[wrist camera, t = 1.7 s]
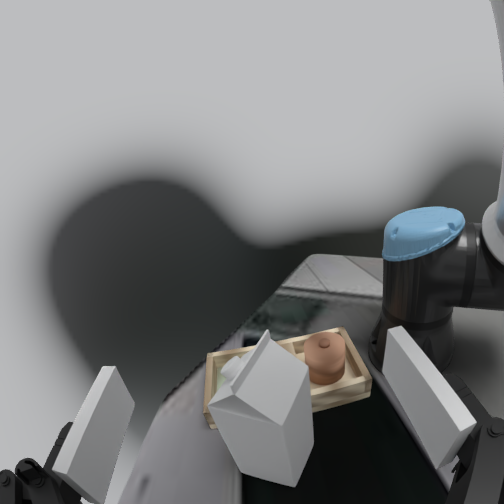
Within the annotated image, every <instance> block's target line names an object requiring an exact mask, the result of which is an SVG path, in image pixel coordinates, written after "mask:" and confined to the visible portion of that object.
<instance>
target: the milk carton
mask: <svg viewBox="0 0 504 504" xmlns="http://www.w3.org/2000/svg"><path fill="white" fill-rule="evenodd" d="M220 373H221V374H222V375H223V376H225V377H226V380H225V381H224V383H223V384H222V385H221V387H220V388H219V390H218V391H217V392H216V394H215V395H214V397H213V398H212V399H211V401H210V402H209V404H208V405H207V407H208V409H209V411H210V413H211V415H212V418H213V420H214V422H215V424H216V426H217V428H218V430H219V432H220V434H221V436H222V438H223V440H224V442H225V444H226V445H227V447H228V449H229V451H230V453H231V455H232V457H233V459H234V460H235V462H236V464H237V466H238V468H239V470H240V471H241V473H244V474H247V475H251V476H254V477H257V478H261V479H264V480H268V481H271V482H275V483H279V484H283V485H287V486H291V487H295V486H296V485H297V483H298V480H299V478H300V476H301V474H302V471H303V469H304V467H305V464H306V462H307V460H308V457H309V455H310V452H311V450H312V447H313V445H314V435H313V419H312V404H311V391H310V378H309V367H308V366H307V365H306V364H305V363H303V362H302V361H300V360H299V359H298V358H296V357H295V356H293V355H292V354H291V353H289V352H288V351H287V350H285V349H284V348H282V347H281V346H280V345H278V344H277V343H276V342H274V341H273V340H272V339H270V333H269V330H266V331H265V333H264V334H263V336H262V337H261V339H260V340H259V342H258V344H257V345H256V347H255V348H254V349H252V350H251V351H249V352H247V353H246V354H244V355H243V356H242V357H241V359H240V358H239V357H238V356H235V357H233V358H232V359H230V360H229V361H228V362H227V363H226V364H225V365H224V367H223V368H222V369H221V372H220Z"/></svg>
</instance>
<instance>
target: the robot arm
mask: <svg viewBox="0 0 504 504" xmlns="http://www.w3.org/2000/svg"><path fill="white" fill-rule="evenodd" d="M490 1H491V5H492V9H493V13H494V17H495V22H496V27H497V32H498V39H499V45H500V52H501V60H502V70H503V82H504V0H490ZM382 256H383V304H382V311H381V314H380V316H379V318H378V320H377V322H376V325H375V327H374V329H373V331H372V333H371V336H370V342H369V356H370V359H371V361H372V363H373V364H374V366H375V367H376V368H377V369H378V370H379V371H381V372H382V373H383V374H384V376H385V378H386V379H387V381H388V383H389V384H390V386H391V388H392V390H393V391H394V393H395V395H396V397H397V398H398V400H399V402H400V404H401V405H402V407H403V409H404V411H405V412H406V414H407V416H408V418H409V420H410V421H411V423H412V425H413V427H414V429H415V431H416V432H417V434H418V436H419V438H420V440H421V442H422V443H423V445H424V447H425V449H426V451H427V453H428V455H429V457H430V459H431V461H432V463H433V464H434V466H435V468H436V469H438V468H441V467H443V466H445V465H447V464H448V463H450V462H452V461H453V459H454V458H455V456H456V455H457V456H458V457H459V459H460V460H459V461H458V463H457V464H456V465H455V467H454V468H453V470H452V473H454V471H455V470H456V472H455V475H454V478H453V482H452V485H451V488H450V491H449V494H448V497H447V499H446V502H445V504H504V420H503V419H501V418H498V417H495V418H492V417H491V416H490V415H489V414H488V412H487V411H486V410H485V408H484V407H483V406H482V405H481V403H480V402H479V401H478V399H477V398H476V397H475V396H474V394H472V392H471V391H470V389H469V388H467V386H466V384H465V383H464V382H463V381H462V379H461V378H459V377H457V376H456V375H454V374H452V373H450V374H448V375H445V376H442V375H441V372H442V371H443V370H444V369H445V368H446V367H447V366H448V364H449V362H450V360H451V357H452V354H453V350H454V332H453V323H452V312H453V307H464V308H475V309H486V310H498V311H504V146H503V160H502V170H501V178H500V185H499V193H498V198H497V201H496V202H494V203H493V204H491V205H490V206H489V207H488V209H487V210H486V211H485V213H484V216H483V220H482V224H481V223H465V219H464V217H463V214H462V213H461V212H460V211H458V210H456V209H453V208H446V207H425V208H418V209H414V210H410V211H406V212H404V213H401V214H399V215H397V216H395V217H394V218H393V219H391V220H390V221H389V222H388V224H387V225H386V228H385V231H384V249H383V251H382ZM134 406H135V403H134V401H133V399H132V397H131V395H130V394H129V392H128V390H127V388H126V386H125V384H124V382H123V381H122V378H121V376H120V375H119V372H118V370H117V369H116V366H103V367H102V369H101V371H100V372H99V374H98V376H97V378H96V380H95V382H94V384H93V385H92V387H91V389H90V391H89V393H88V395H87V397H86V399H85V401H84V403H83V405H82V407H81V409H80V411H79V413H78V415H77V417H76V419H75V421H74V423H73V422H68V423H67V424H66V425H65V426H64V427H63V428H62V430H61V432H60V434H59V436H58V439H57V440H56V442H55V446H53V448H52V450H51V452H50V454H49V457H48V459H47V461H46V463H45V465H44V467H43V468H42V467H41V466H40V465H39V464H38V463H37V462H36V461H35V460H33V459H31V458H25V459H23V460H21V461H20V462H19V463H18V464H17V465H16V468H15V474H16V475H17V476H16V475H15V474H14V473H13V472H12V471H10V470H6V469H5V470H2V471H1V472H0V504H82V502H81V501H80V500H81V497H83V498H84V499H85V500H87V501H88V502H90V503H94V504H104V502H105V499H106V495H107V491H108V488H109V484H110V481H111V478H112V474H113V471H114V468H115V464H116V461H117V457H118V455H119V451H120V448H121V445H122V442H123V439H124V436H125V433H126V430H127V427H128V424H129V420H130V418H131V415H132V412H133V409H134Z"/></svg>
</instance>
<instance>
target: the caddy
mask: <svg viewBox="0 0 504 504" xmlns="http://www.w3.org/2000/svg"><path fill="white" fill-rule="evenodd" d="M276 343H277V344H278V345H280V346H281V347H282V348H284V349H285V350H287V351H288V352H289V353H291V354H292V355H293V356H295V357H296V358H298V359H299V360H300V361H302V362H303V363H305V364H306V365H307V366H308V367H309V378H310V391H311V404H312V412H317V411H321V410H325V409H329V408H332V407H336V406H340V405H343V404H347V403H350V402H353V401H357V400H360V399H363V398H366V397H369V396H370V392H371V385H372V377H371V375H370V373H369V371H368V370H367V368H366V366H365V364H364V362H363V361H362V359H361V357H360V355H359V353H358V352H357V350H356V348H355V346H354V345H353V343H352V341H351V339H350V337H349V336H348V334H347V332H346V330H345V329H344V327H343V326H342V327H338V328H334V329H330V330H326V331H322V332H318V333H313V334H309V335H305V336H300V337H295V338H291V339H286V340H281V341H276ZM255 347H256V346H250V347H245V348H239V349H233V350H227V351H220V352H214V353H208V354H207V364H206V378H205V393H204V409H203V414H204V416H205V418H206V420H207V422H208V424H209V426H210V428H211V429H218V428H217V426H216V424H215V422H214V420H213V418H212V415H211V413H210V411H209V409H208V407H207V405H208V404H209V402H210V401H211V399H212V398H213V397H214V395H215V394H216V392H217V391H218V390H219V388H220V387H221V385H222V384H223V383H224V381H225V380H226V377H225V376H223V375H222V374H221V373H220V372H221V369H222V368H223V367H224V365H225V364H226V363H227V362H228V361H229V360H230V359H232V358H233V357H235V356H238V357H239V358H240V359H241V357H242V356H243V355H244V354H246V353H247V352H249V351H251V350H252V349H254V348H255Z"/></svg>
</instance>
